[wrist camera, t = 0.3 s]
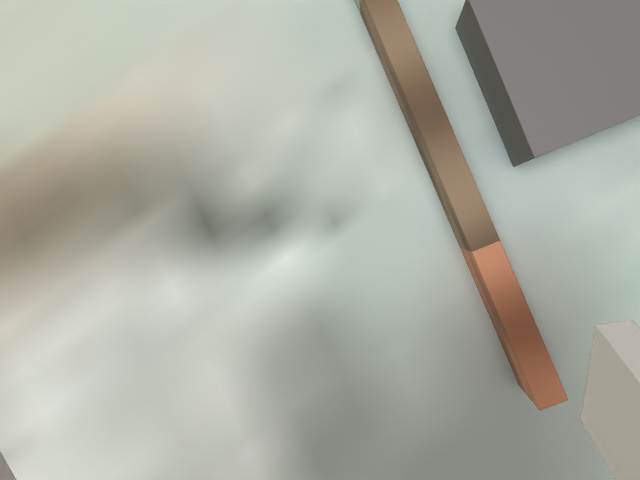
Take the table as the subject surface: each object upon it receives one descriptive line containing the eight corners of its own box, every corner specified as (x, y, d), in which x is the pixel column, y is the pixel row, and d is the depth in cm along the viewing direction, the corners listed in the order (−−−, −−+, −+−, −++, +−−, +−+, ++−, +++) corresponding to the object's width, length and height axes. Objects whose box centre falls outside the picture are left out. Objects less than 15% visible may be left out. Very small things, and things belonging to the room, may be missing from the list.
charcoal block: (659, 106, 26) (710, 85, 22) (512, 167, 26) (534, 158, 22) (600, -36, 26) (639, -83, 22) (454, 29, 27) (467, -5, 23)
